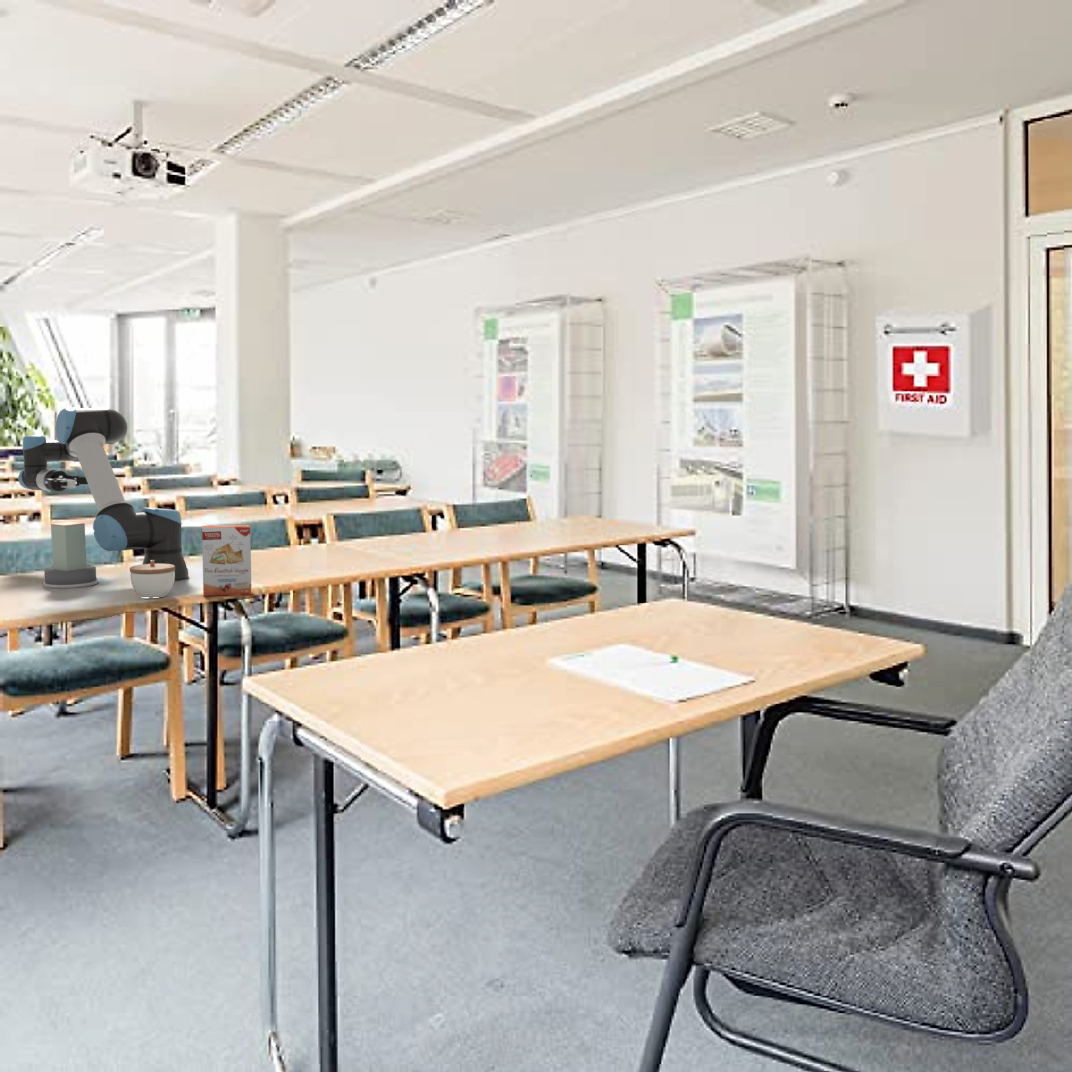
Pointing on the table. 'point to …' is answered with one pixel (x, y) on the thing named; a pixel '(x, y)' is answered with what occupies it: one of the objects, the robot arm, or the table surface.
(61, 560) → the carton
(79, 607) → the table surface
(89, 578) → the podium
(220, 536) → the cracker box
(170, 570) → the lidded bowl
